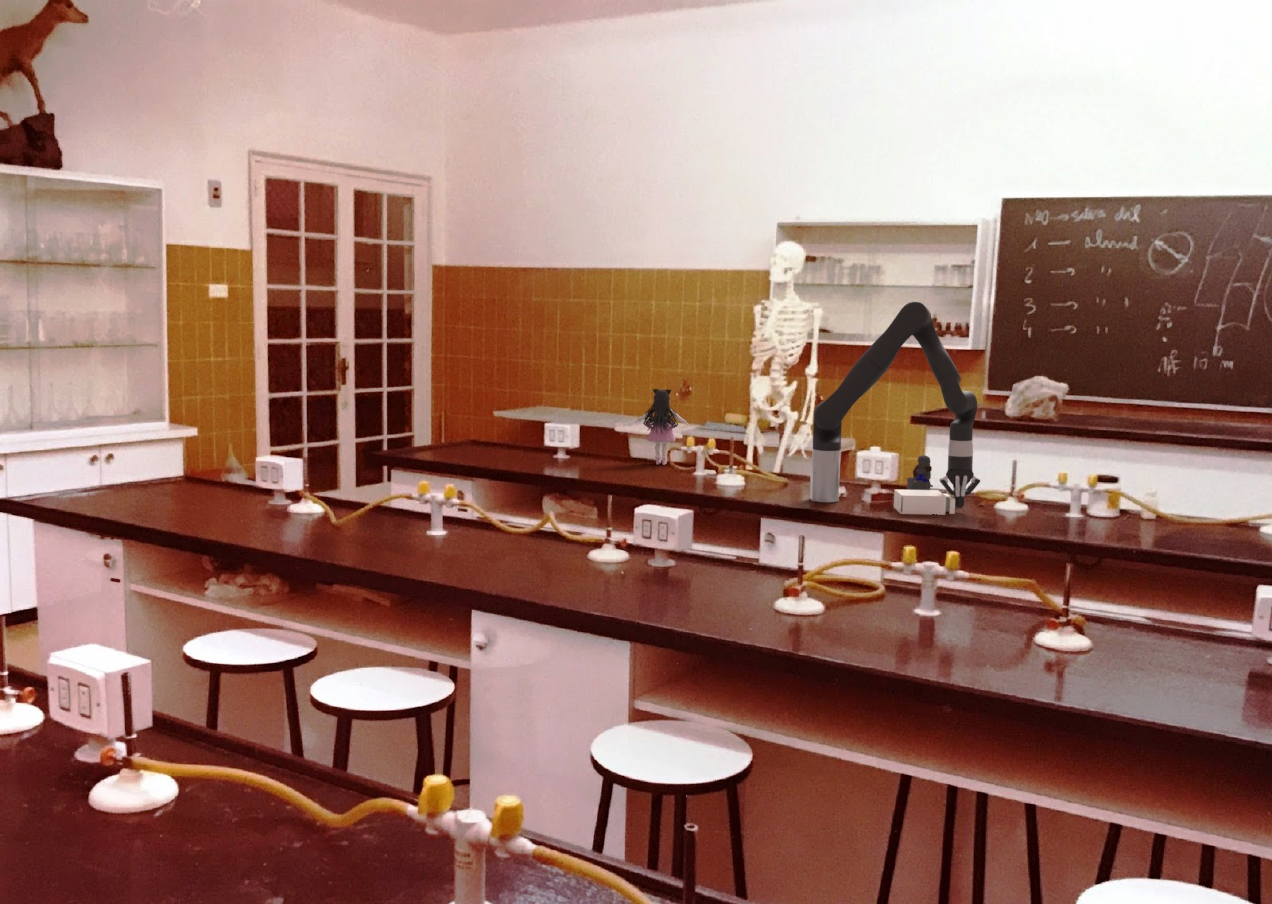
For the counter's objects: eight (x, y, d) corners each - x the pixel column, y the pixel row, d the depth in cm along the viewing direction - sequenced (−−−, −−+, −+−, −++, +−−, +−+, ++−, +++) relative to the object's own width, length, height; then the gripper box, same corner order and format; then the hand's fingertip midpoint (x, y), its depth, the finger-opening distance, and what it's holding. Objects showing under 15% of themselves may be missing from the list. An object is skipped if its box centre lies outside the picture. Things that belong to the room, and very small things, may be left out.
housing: (900, 513, 359) (901, 495, 358) (893, 507, 370) (894, 489, 369) (945, 514, 359) (946, 496, 358) (937, 508, 370) (937, 490, 369)
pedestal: (947, 507, 371) (948, 492, 371) (944, 504, 376) (944, 489, 375) (961, 507, 371) (961, 492, 371) (957, 505, 376) (958, 490, 375)
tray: (903, 512, 359) (904, 498, 359) (896, 506, 370) (897, 492, 369) (954, 513, 359) (955, 499, 358) (946, 507, 369) (947, 493, 369)
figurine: (690, 463, 456) (692, 389, 452) (686, 467, 446) (687, 391, 442) (636, 461, 461) (637, 387, 457) (630, 464, 451) (631, 389, 447)
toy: (906, 495, 392) (908, 452, 390) (934, 497, 388) (937, 454, 386) (898, 500, 383) (901, 456, 381) (927, 503, 379) (930, 458, 377)
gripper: (978, 452, 365) (976, 505, 367) (936, 452, 365) (935, 505, 368) (984, 455, 358) (983, 509, 360) (942, 455, 358) (940, 510, 360)
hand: (958, 507), depth 364 cm, fingers closed
